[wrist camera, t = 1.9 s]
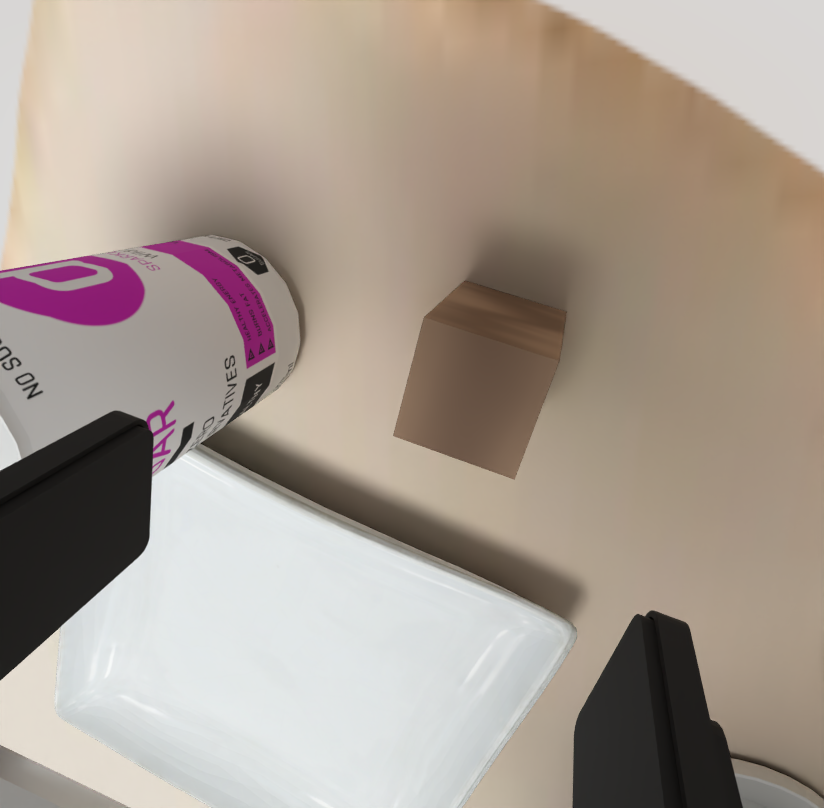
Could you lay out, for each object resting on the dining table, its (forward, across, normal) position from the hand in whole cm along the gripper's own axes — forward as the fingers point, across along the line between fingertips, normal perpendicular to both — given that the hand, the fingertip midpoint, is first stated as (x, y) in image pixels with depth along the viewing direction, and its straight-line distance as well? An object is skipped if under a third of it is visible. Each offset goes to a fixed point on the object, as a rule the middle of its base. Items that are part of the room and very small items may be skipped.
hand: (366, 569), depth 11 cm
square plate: (+17, +7, +24) cm, 30 cm away
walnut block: (+17, 0, 0) cm, 17 cm away
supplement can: (+17, +13, +4) cm, 21 cm away
